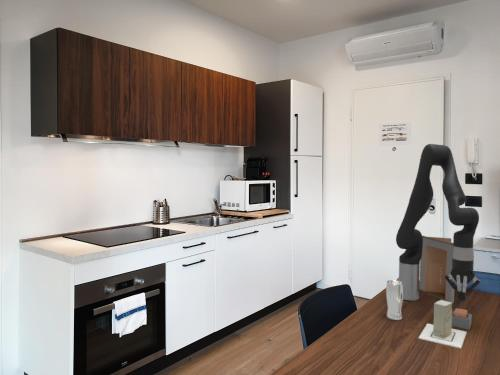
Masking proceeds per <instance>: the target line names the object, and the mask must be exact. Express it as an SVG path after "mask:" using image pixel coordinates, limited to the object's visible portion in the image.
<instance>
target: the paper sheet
mask: <svg viewBox="0 0 500 375" xmlns="http://www.w3.org/2000/svg"><path fill="white" fill-rule="evenodd" d="M433 327H434V323H433V324H431V323H426V325H425V326H424V328H423V329H422V331H421V333H420V335H419V336H418V340H423V341H427V342H431V343H435V344H439V345H443V346H448V347H453V348H456V349H461V350H462V347H463V344H464V341H465V339H466V336H467V331H464V330H461V329H455V328H452V330H451V334H450V335H449V336H447V337H445V338H443V337H439V336H436V335H433Z"/></svg>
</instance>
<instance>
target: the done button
mask: <svg viewBox="0 0 500 375" xmlns="http://www.w3.org/2000/svg"><path fill="white" fill-rule="evenodd" d="M453 311H454V316H457V317H462V318H467V314H468V309H463V308H457V307H455V309H454V310H453Z"/></svg>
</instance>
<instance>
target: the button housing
mask: <svg viewBox="0 0 500 375" xmlns="http://www.w3.org/2000/svg"><path fill="white" fill-rule="evenodd" d="M454 311H455V310H452V328H453V327H454V328H458V329H464V330H467V331H470V329H471V326H472V319H473V318H472V317H473V315H472V314H471V313H467V318H462V317H457V316H454Z"/></svg>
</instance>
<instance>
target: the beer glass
mask: <svg viewBox="0 0 500 375" xmlns="http://www.w3.org/2000/svg"><path fill="white" fill-rule="evenodd" d="M385 296H386V304H387V312H386V318H388V319H389V320H392V321H399V320H402V319H403V315H402V306H403V302H404V299H403V296H404V286H403V282H401V281H398V279H390V280H387V281H386V289H385Z"/></svg>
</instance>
